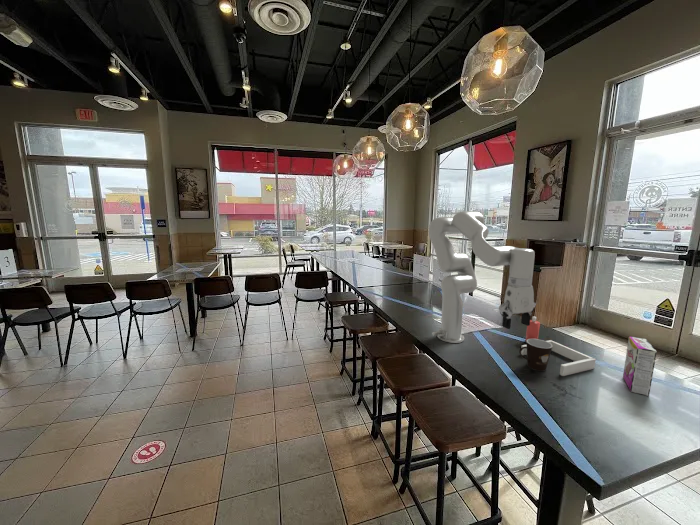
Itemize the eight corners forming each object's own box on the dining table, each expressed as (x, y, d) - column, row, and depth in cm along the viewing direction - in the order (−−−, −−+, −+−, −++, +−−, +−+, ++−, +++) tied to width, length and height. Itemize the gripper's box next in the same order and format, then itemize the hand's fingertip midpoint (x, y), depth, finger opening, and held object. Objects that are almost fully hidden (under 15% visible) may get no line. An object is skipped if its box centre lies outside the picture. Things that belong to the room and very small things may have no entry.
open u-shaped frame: (562, 376, 110) (564, 366, 109) (520, 354, 127) (521, 345, 126) (594, 368, 115) (595, 359, 114) (549, 348, 132) (550, 340, 132)
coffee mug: (545, 363, 119) (548, 340, 117) (552, 374, 111) (555, 349, 109) (513, 358, 123) (516, 336, 121) (518, 368, 115) (520, 345, 113)
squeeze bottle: (532, 344, 136) (535, 319, 134) (523, 340, 141) (525, 315, 139) (540, 343, 138) (543, 318, 135) (530, 339, 142) (533, 314, 140)
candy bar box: (621, 377, 109) (628, 335, 107) (639, 381, 107) (647, 338, 104) (629, 392, 100) (637, 347, 97) (649, 397, 97) (658, 351, 95)
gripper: (510, 286, 101) (506, 332, 104) (546, 282, 107) (541, 326, 110) (493, 281, 108) (490, 325, 111) (528, 278, 114) (524, 320, 117)
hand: (515, 326), depth 111 cm, fingers open, 9 cm apart
